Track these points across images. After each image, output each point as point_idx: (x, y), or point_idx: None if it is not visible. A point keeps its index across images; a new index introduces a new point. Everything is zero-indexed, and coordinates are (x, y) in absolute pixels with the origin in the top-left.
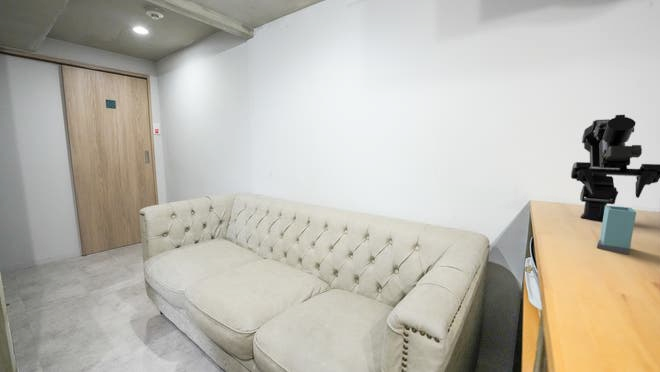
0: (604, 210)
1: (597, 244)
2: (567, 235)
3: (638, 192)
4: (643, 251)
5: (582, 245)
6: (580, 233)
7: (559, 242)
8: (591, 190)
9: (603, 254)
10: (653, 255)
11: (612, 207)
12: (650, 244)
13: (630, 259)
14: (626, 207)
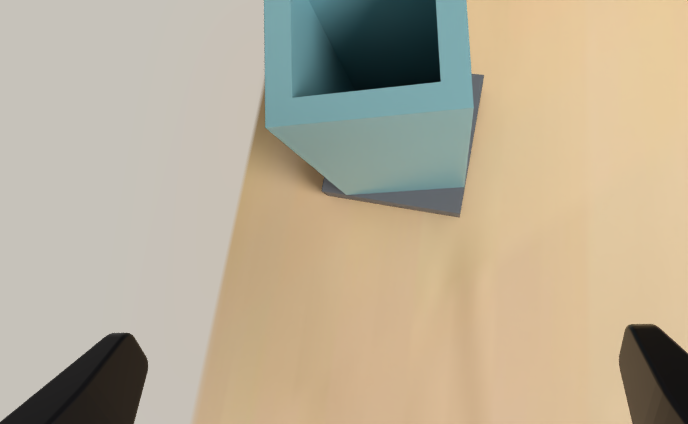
0: (471, 124)
1: (483, 76)
2: (638, 276)
3: (92, 368)
4: (279, 190)
5: (550, 102)
6: (558, 383)
7: (677, 76)
8: (684, 359)
9: None
10: (253, 149)
11: (412, 90)
12: (222, 353)
13: None
14: (300, 109)
